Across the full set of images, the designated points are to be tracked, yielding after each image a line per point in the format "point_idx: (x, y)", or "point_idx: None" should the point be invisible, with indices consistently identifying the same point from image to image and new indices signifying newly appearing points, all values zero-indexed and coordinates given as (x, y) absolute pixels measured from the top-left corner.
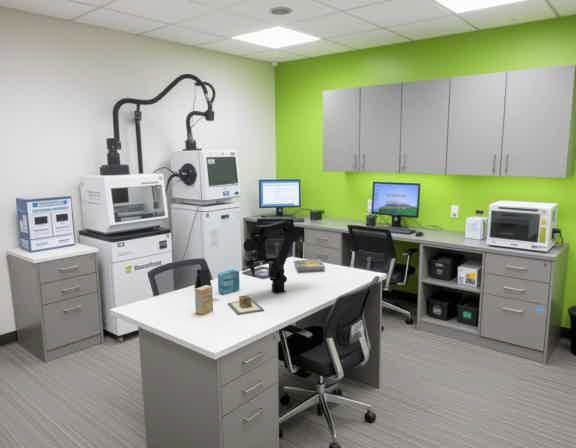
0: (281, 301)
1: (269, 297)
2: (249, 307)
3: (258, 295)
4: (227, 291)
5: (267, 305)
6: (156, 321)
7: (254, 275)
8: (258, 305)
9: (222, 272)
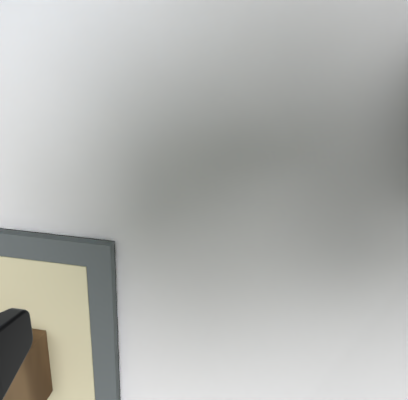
0: (335, 384)
1: (299, 243)
2: None
3: (226, 125)
4: None
5: (185, 395)
6: None
7: (7, 386)
8: (110, 388)
9: None
